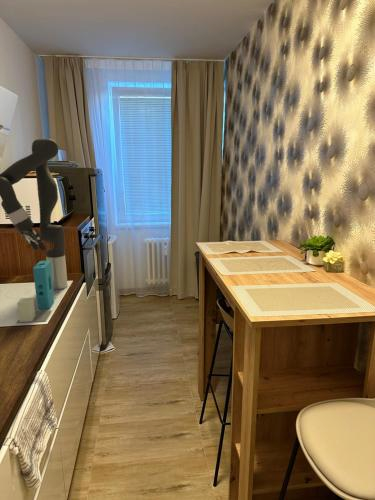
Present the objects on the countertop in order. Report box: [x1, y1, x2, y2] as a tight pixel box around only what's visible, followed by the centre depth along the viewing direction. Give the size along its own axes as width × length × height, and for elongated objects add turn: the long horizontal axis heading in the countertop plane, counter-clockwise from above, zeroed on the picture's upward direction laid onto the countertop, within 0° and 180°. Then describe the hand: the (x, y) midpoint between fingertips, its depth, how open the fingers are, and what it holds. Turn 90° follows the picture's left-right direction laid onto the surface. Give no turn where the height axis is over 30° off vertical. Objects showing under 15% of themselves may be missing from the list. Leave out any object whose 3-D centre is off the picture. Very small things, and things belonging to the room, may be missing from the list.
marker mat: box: [16, 309, 53, 324], centre depth 150 cm, size 11×12×1 cm
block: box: [32, 260, 55, 311], centre depth 159 cm, size 12×5×20 cm, turn 8°
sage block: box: [16, 297, 36, 323], centre depth 146 cm, size 5×5×8 cm
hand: (40, 249), depth 164 cm, fingers open, 8 cm apart
